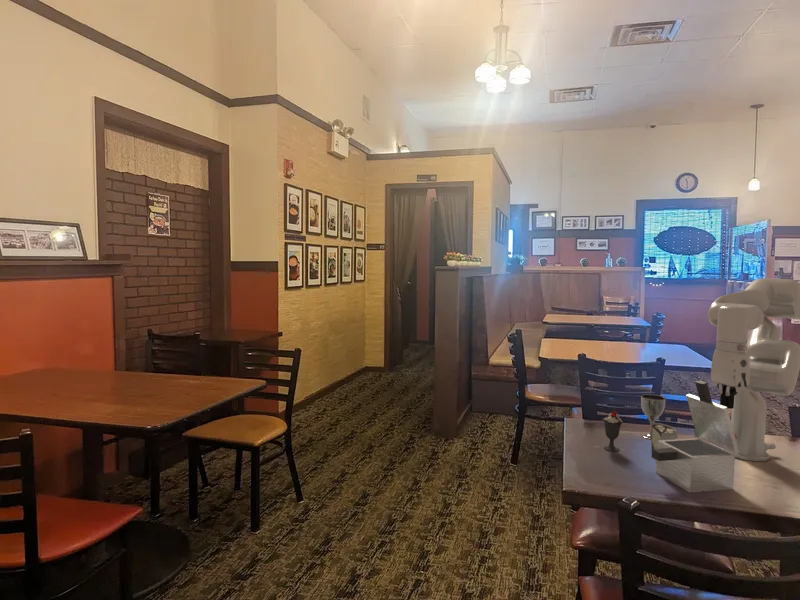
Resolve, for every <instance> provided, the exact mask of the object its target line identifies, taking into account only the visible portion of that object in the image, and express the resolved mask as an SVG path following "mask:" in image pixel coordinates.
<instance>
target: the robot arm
mask: <svg viewBox="0 0 800 600" xmlns="http://www.w3.org/2000/svg"><path fill="white" fill-rule="evenodd" d="M770 318H779V319H780V318H782V319H794V320H795V319H797V320H798V319H800V283H799V282H798V281H797V280H795V279H791V278H767V277H765V278H757V279H755V280H753V281H752V282H751V283H750V284H748V286H747V287H746V288H745V289H744V290H741V291H736V292H733V293H732V292H731V293H728V294H725V295H721V296H720V297H718V298H716V299H715V300H714V301H713V302H712V303H711V305H710V306H709V308H708V311H707V319H708V322H709V323H710V324H711V325H712V326H714V327H716V339H715V342H716V343H715V349H714V352H713V356H712V360H711V369H710V379H711V381H712V384H713V385H714V386H715V387H717V389H718V393H719V394H720V402H719V403H720V405H722V406H725V407H727V408H728V410H730V409H731V415H730V416H731V417H730V420H731V423H732V427H733V431H734V434H735V435H736V436H737V439H736V442H737V446H738V450H739V453H738V454H734V453H732V454H734V455H735V458H737V459H740V460H744V461H749V462H767V461H768V460H769V459H770V454H769V453H768V452H767V451H768V450H776V448H777V447H776V444H775V443H773V442H771V443H770V442H769V443H766V442H765V436H766V422H767V421H766V420H767V419H766V418H767V411H768V409H767V408H768V407H767V403H766V400H765V399H764V398H763V396H762V394H761V393H765V394H772V395H778V396H789V395H791V394H792V393H794V390H795V388H796V384H797V380H798V377H799V374H800V344H799V343H798V342H796V341H792V340H784V339H780V338H781V331H780V329H779V328H778V326H777V325H776V324H775V323H774V322H773V321H772V320H771V319H770ZM748 330H750V332H749V335H748ZM747 336H748V337H747ZM723 450H725V449H723ZM725 451H727V450H725ZM728 452H729V451H728ZM730 453H731V452H730Z"/></svg>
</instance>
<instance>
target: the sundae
mask: <svg viewBox="0 0 800 600" xmlns="http://www.w3.org/2000/svg"><path fill="white" fill-rule="evenodd" d="M601 420H602V421H603V423H604V424H603V425H604V431H605V436H606V437H607V439H609V443H608V445H607V446H603V450H605V451H607V452H611V451H612V453H617V452H620V449H619V447H615V443H614V440H616V439H617V438H618V437H619V435H620V429H621V426H622V424H624V421H623V420H622V419H621V418H620V416H619V414H618V413H617V411H616V407H613V410H612V411H611V412H609V413H608V415H607V416H606V417H605V416H604V417H602V419H601Z"/></svg>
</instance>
